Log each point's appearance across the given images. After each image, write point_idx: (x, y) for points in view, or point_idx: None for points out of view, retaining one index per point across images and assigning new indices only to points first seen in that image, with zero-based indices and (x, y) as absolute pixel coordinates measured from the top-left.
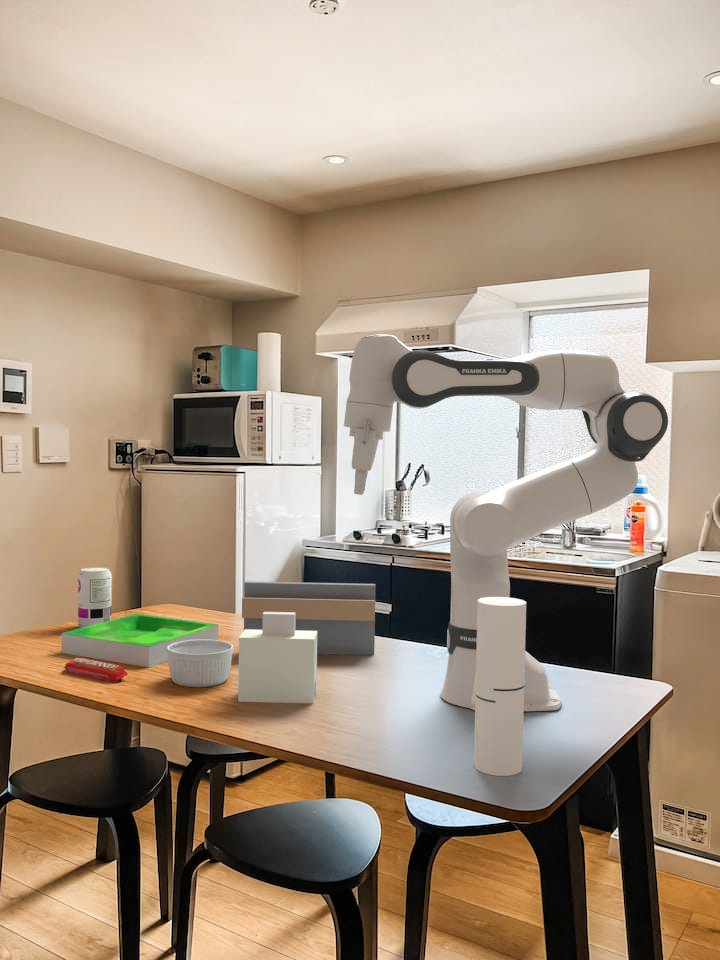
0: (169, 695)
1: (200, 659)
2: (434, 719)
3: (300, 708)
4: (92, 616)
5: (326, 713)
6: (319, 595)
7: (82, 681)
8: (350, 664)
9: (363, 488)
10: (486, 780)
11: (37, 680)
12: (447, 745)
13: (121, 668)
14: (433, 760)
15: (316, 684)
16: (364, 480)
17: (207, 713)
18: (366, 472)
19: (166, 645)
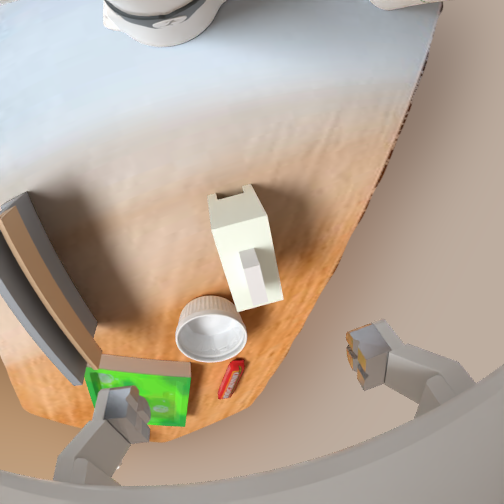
0: (264, 314)
1: (243, 323)
2: (270, 38)
3: (272, 191)
4: None
5: (282, 159)
6: (28, 301)
7: (247, 375)
8: (76, 201)
9: (396, 336)
10: (408, 7)
11: (255, 392)
12: (346, 26)
13: (235, 367)
14: (383, 41)
15: (208, 198)
16: (434, 357)
17: (307, 265)
18: (470, 378)
19: (165, 372)
